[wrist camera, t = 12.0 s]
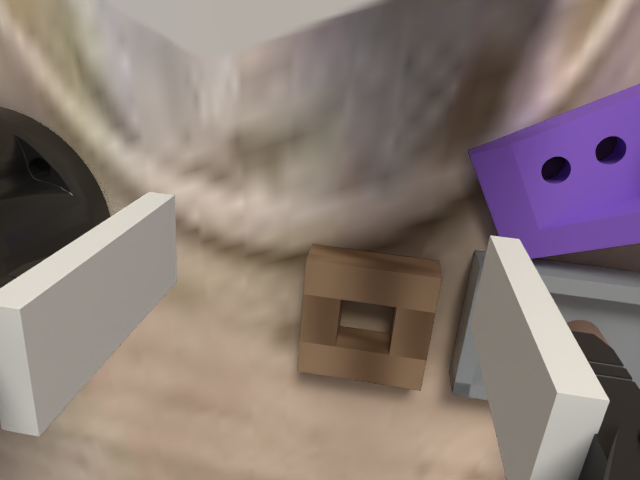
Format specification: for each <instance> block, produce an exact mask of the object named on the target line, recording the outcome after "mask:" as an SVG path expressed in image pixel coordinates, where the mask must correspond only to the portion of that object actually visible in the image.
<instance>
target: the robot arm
mask: <svg viewBox="0 0 640 480" xmlns="http://www.w3.org/2000/svg"><path fill="white" fill-rule="evenodd" d="M176 282H177V265H176V221H175V195H169V194H162V193H154V192H148V193H147V194H145V195H144V196H142V197H141V198H139V199H138V200H136V201H134V202H133V203H131V204H130V205H128V206H127V207H125V208H124V209H122V210H121V211H119V212H117V213H116V214H114V215H113V216H111V217H110V215H109V211H108V207H107V204H106V201H105V199H104V196H103V194H102V191H101V189H100V187H99V185H98V183H97V182H96V180H95V178H94V176H93V175H92V173H91V172H90V170H89V168H88V167H87V166H86V164H85V163H84V162H83V160H82V159H81V158H80V157H79V156H78V154H77V153H76V152H75V151H74V150H73V149H72V148H71V147H70V146H69V145H68V144H67V143H66V142H65V141H64V140H63V139H61V138H60V137H59V136H58V135H57V134H55V133H54V132H53V131H51V130H50V129H49V128H47V127H45V126H44V125H42V124H41V123H39V122H37V121H35V120H34V119H32V118H30V117H28V116H25V115H23V114H21V113H18V112H15V111H12V110H9V109H5V108H1V107H0V423H1V429H2V430H5V431H11V432H17V433H22V434H28V435H33V436H40V435H41V434H42V433H43V432H44V431H45V430H46V428H47V427H48V426H49V425H50V424H51V423H52V422H53V421H54V419H55V418H56V417H57V416H58V415H59V414H60V413H61V412H62V410H63V409H64V408H65V407H66V406H67V405H68V404H69V403H70V401H71V400H72V399H73V398H74V397H75V396H76V395H77V394H78V392H79V391H80V390H81V389H82V388H83V387H84V386H85V385H86V383H87V382H88V381H89V380H90V379H91V378H92V377H93V376H94V374H95V373H96V372H97V371H98V370H99V369H100V368H101V367H102V365H103V364H104V363H105V362H106V361H107V360H108V359H109V357H110V356H111V355H112V354H113V353H114V352H115V351H116V350H117V348H118V347H119V346H120V345H121V344H122V343H123V342H124V341H125V339H126V338H127V337H128V336H129V335H130V334H131V333H132V332H133V330H134V329H135V328H136V327H137V326H138V325H139V324H140V323H141V321H142V320H143V319H144V318H145V317H146V316H147V315H148V314H149V312H150V311H151V310H152V309H153V308H154V307H155V306H156V305H157V303H158V302H159V301H160V300H161V299H162V298H163V297H164V296H165V294H166V293H167V292H168V291H169V290H170V289H171V288H172V286H173V285H174V284H175V283H176ZM470 325H471V329H472V333H473V338H474V342H475V346H476V351H477V355H478V359H479V364H480V368H481V372H482V376H483V381H484V385H485V389H486V394H487V398H488V402H489V406H490V411H491V415H492V419H493V424H494V428H495V432H496V437H497V441H498V445H499V449H500V454H501V458H502V462H503V467H504V471H505V475H506V480H640V389H639V387H638V386H637V384H636V383H635V382H633V381H632V379H633V378H632V377H631V375H630V374H629V372H628V371H627V369H626V368H624V365H623V363H622V362H621V360H620V359H619V357H618V356H617V354H616V353H615V351H614V349H612V348H611V347H610V346H609V345H607V344H606V343H605V342H604V341H602V340H601V339H600V338H599V337H597V336H596V335H595V334H591V333H584V332H577V331H571V330H570V329H569V327H568V325H567V323H566V322H565V320H564V318H563V316H562V314H561V313H560V311H559V309H558V307H557V305H556V304H555V302H554V300H553V298H552V297H551V295H550V293H549V291H548V289H547V288H546V286H545V284H544V282H543V280H542V279H541V277H540V275H539V273H538V271H537V270H536V268H535V266H534V264H533V263H532V261H531V259H530V257H529V255H528V254H527V252H526V250H525V248H524V246H523V245H522V243H521V241H520V239H515V238H507V237H499V236H491V235H490V238H489V242H488V247H487V251H486V256H485V260H484V265H483V269H482V274H481V278H480V283H479V287H478V292H477V296H476V301H475V305H474V309H473V314H472V318H471V323H470Z"/></svg>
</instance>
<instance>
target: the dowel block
mask: <svg viewBox="0 0 640 480" xmlns="http://www.w3.org/2000/svg"><path fill="white" fill-rule="evenodd" d="M441 281H442V275H441V269H440V263H439V261H436V260H428V259H421V258H413V257H406V256H398V255H390V254H383V253H375V252H368V251H360V250H353V249H345V248H338V247H330V246H323V245H315V244H312V247H311V249H310V252H309V254H308V256H307V259H306V267H305V279H304V292H303V304H302V317H301V329H300V342H299V354H298V367H297V371H299V372H306V373H312V374H318V375H325V376H331V377H337V378H344V379H350V380H356V381H363V382H369V383H375V384H382V385H388V386H394V387H400V388H407V389H413V390H419V391H421V386H422V381H423V375H424V370H425V365H426V360H427V354H428V349H429V344H430V339H431V334H432V328H433V323H434V318H435V313H436V307H437V302H438V297H439V292H440V286H441ZM343 300H348V301H355V302H362V303H369V304H376V305H383V306H390V307H394V312H393V318H392V325H391V331H390V334H389V333H382V332H376V331H369V330H362V329H355V328H349V327H342V326H340V319H341V310H342V301H343Z"/></svg>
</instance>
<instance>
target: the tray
mask: <svg viewBox="0 0 640 480" xmlns="http://www.w3.org/2000/svg"><path fill="white" fill-rule="evenodd" d="M485 256H486V252H482V251H475V253H474V258H473V262H472V267H471V272H470V276H469V281H468V286H467V291H466V295H465V300H464V305H463V309H462V314H461V319H460V323H459V328H458V333H457V337H456V342H455V347H454V352H453V356H452V361H451V366H450V370H449V375H450V382H451V389H452V395H457V396H464V397H470V398H476V399H483V400H488V398H487V394H486V389H485V385H484V381H483V376H482V372H481V368H480V364H479V359H478V355H477V351H476V346H475V342H474V338H473V333H472V329H471V325H470V323H471V318H472V314H473V309H474V305H475V301H476V296H477V292H478V287H479V283H480V278H481V274H482V269H483V265H484V260H485ZM531 261H532V263H533V264H534V266H535V268H536V270H537V271H538V273H539V275H540V277H541V279H542V280H543V282H544V284H545V286H546V288H547V289H548V291H549V293H550V295H551V297H552V298H553V300H554V302H555V304H556V305H557V307H558V309H559V311H560V313H561V314H562V316H563V318H564V320H565V322H566V323H568V322H570V321H574V320H586V321H589V322H591V323H593V324H594V325H596V326H597V328H598V329H599V331H600V332H601V334H602V335H603V337H604V338H605V340H606V341H607V343H608V344H609V346H610V347H611V348H612V349H614V351H615V353H616V354H617V356H618V357H619V359H620V360H621V362H622V363H623V365H624V368H626V369H627V371H628V372H629V374H630V375H631V377H632V378H633V379H632V381H633V382H635V383H636V384H637V386H638V387H639V389H640V272H636V271H628V270H621V269H613V268H605V267H598V266H590V265H582V264H575V263H567V262H559V261H551V260H544V259H536V258H533V259H531Z"/></svg>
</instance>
